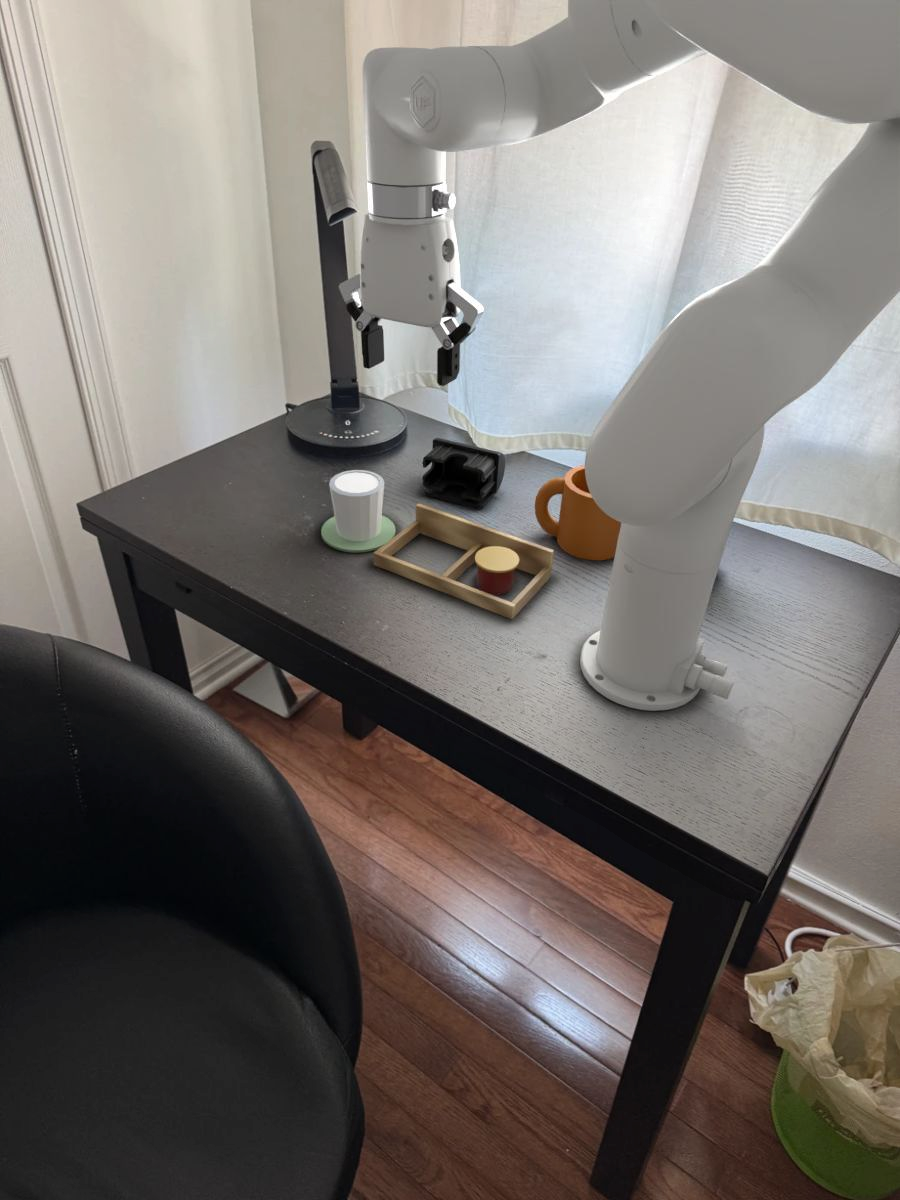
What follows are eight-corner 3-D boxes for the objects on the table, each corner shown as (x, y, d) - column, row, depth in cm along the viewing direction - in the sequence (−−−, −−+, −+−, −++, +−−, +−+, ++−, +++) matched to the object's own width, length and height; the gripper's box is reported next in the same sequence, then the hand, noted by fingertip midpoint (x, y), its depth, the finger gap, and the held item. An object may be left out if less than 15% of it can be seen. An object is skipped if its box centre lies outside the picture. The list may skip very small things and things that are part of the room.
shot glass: (377, 547, 99) (375, 498, 95) (324, 540, 100) (321, 491, 96) (391, 520, 105) (390, 472, 101) (341, 513, 106) (339, 466, 102)
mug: (548, 511, 109) (555, 452, 103) (632, 535, 105) (645, 474, 99) (523, 542, 102) (529, 480, 97) (612, 568, 98) (624, 505, 93)
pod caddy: (550, 577, 96) (554, 549, 94) (512, 619, 89) (515, 591, 87) (418, 529, 104) (418, 503, 102) (373, 565, 97) (372, 537, 95)
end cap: (503, 488, 114) (507, 445, 109) (484, 511, 108) (487, 466, 104) (440, 473, 117) (442, 430, 113) (419, 494, 111) (419, 450, 107)
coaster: (409, 527, 104) (409, 524, 104) (366, 561, 98) (366, 558, 97) (351, 506, 108) (351, 503, 108) (305, 537, 102) (305, 534, 101)
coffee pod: (524, 580, 96) (527, 554, 93) (503, 601, 92) (506, 576, 90) (486, 566, 98) (488, 541, 95) (465, 587, 94) (466, 561, 92)
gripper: (503, 205, 76) (495, 378, 86) (358, 188, 83) (366, 350, 93) (463, 217, 71) (460, 400, 81) (312, 198, 78) (326, 368, 88)
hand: (409, 373), depth 87 cm, fingers open, 9 cm apart
